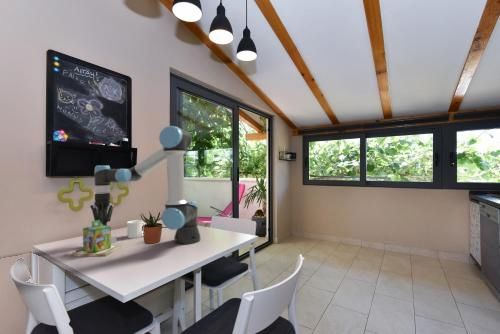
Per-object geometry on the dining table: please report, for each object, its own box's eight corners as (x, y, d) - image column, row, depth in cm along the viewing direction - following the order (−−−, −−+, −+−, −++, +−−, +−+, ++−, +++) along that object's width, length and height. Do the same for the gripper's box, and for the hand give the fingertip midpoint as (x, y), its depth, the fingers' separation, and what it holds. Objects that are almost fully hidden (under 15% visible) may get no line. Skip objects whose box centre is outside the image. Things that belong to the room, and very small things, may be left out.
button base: (116, 241, 144) (116, 236, 144) (105, 247, 134) (105, 241, 134) (99, 241, 144) (99, 236, 144) (87, 246, 134) (87, 241, 134)
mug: (123, 238, 151) (123, 223, 151) (133, 234, 160) (133, 219, 160) (142, 238, 149) (142, 223, 149) (150, 235, 158) (150, 220, 158)
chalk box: (94, 253, 121) (94, 223, 121) (82, 251, 124) (82, 221, 124) (111, 247, 129) (111, 219, 129) (99, 245, 133) (99, 218, 133)
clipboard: (121, 247, 133) (121, 245, 133) (106, 256, 120) (106, 253, 120) (88, 247, 133) (88, 244, 133) (69, 256, 120) (69, 253, 120)
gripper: (117, 192, 143) (117, 233, 143) (95, 192, 143) (95, 233, 143) (109, 193, 135) (110, 236, 135) (86, 193, 136) (86, 236, 136)
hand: (102, 234), depth 139 cm, fingers closed
